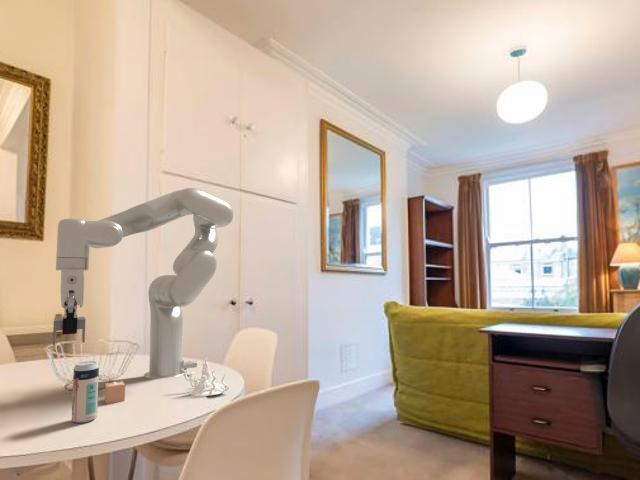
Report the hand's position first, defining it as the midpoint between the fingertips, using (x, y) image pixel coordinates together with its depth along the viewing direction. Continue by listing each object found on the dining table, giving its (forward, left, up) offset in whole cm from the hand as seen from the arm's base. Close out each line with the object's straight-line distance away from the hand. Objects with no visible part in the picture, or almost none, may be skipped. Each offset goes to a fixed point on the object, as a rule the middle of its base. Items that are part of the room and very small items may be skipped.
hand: (69, 331), depth 107 cm
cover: (0, 0, -3) cm, 3 cm away
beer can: (-3, +24, -16) cm, 30 cm away
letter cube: (-10, +13, -16) cm, 23 cm away
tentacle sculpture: (-31, +17, -16) cm, 39 cm away
